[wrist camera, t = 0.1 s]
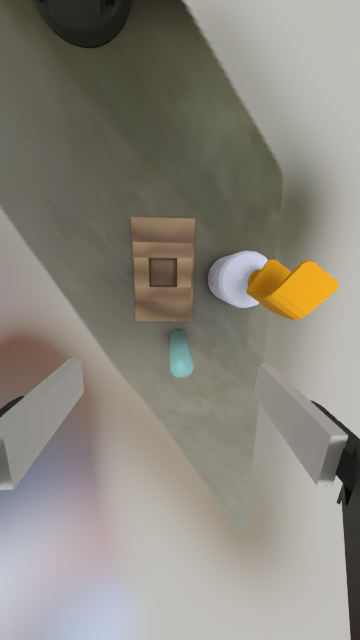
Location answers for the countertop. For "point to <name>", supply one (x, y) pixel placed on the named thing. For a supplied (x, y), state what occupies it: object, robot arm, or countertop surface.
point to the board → (163, 268)
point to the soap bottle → (270, 284)
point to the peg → (180, 355)
